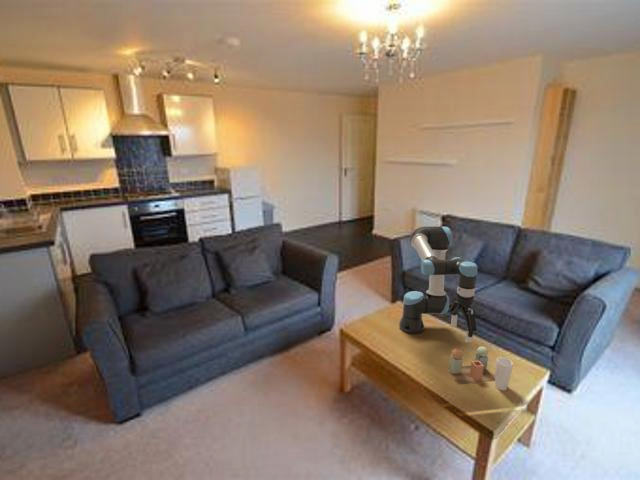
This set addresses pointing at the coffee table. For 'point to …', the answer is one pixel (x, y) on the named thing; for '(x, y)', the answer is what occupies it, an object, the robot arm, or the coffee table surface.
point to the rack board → (466, 378)
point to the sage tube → (455, 365)
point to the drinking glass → (503, 372)
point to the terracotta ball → (457, 353)
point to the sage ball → (482, 351)
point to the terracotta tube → (476, 370)
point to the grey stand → (482, 360)
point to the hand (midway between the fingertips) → (460, 333)
